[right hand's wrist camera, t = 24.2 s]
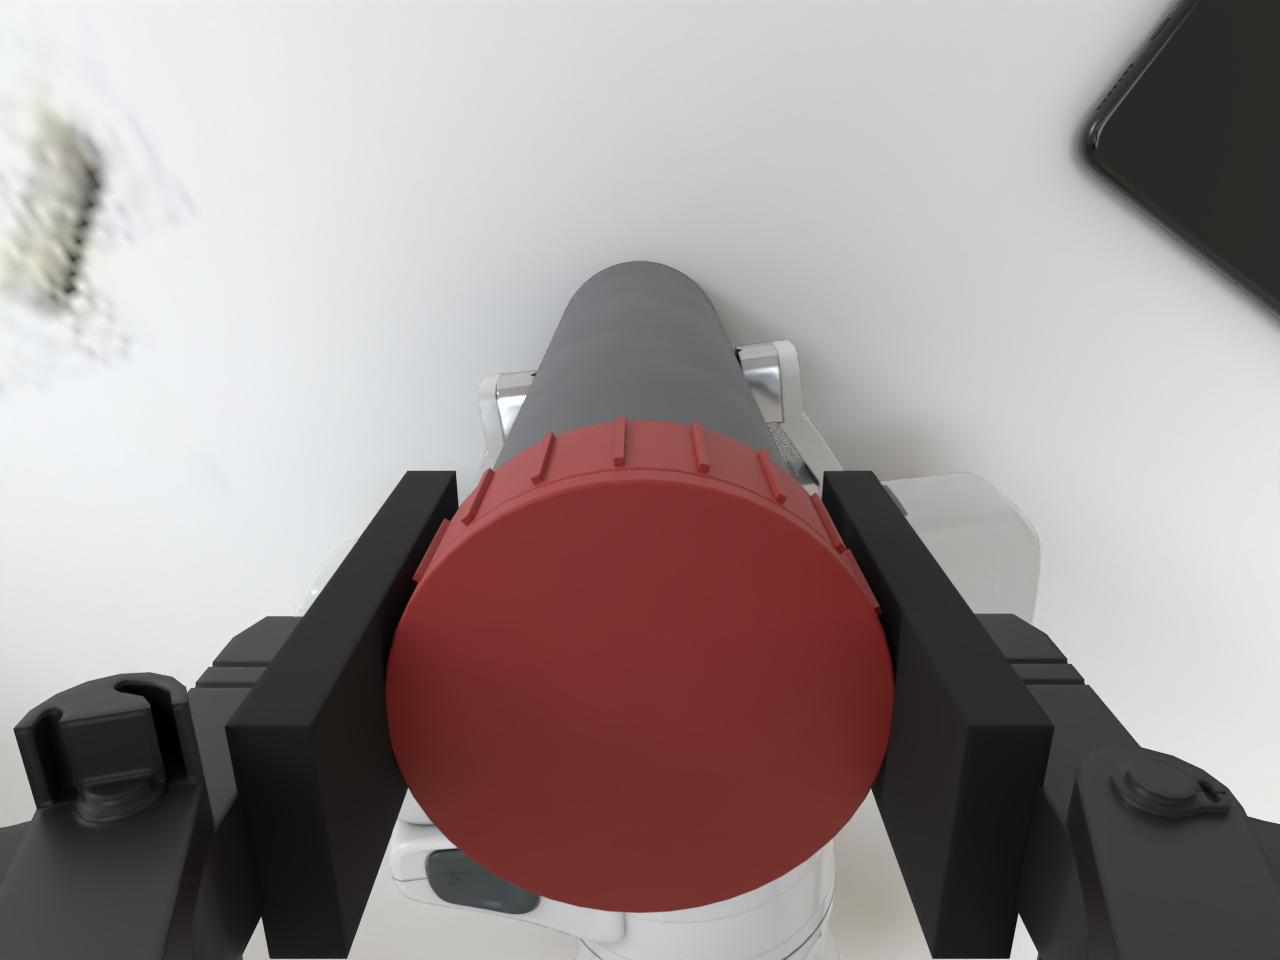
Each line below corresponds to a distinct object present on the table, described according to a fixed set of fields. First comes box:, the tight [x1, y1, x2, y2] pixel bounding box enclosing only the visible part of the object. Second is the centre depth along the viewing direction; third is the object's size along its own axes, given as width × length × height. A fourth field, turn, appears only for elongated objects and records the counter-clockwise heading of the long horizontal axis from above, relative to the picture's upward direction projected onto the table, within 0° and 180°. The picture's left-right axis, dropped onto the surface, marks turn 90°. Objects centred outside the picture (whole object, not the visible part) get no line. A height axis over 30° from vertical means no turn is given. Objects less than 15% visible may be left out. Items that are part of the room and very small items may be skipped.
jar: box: [492, 261, 790, 475], centre depth 20 cm, size 5×5×20 cm
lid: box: [385, 416, 895, 913], centre depth 11 cm, size 6×6×2 cm
